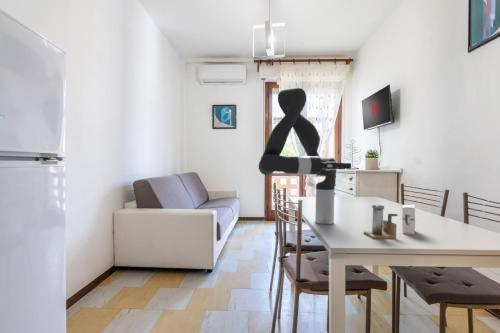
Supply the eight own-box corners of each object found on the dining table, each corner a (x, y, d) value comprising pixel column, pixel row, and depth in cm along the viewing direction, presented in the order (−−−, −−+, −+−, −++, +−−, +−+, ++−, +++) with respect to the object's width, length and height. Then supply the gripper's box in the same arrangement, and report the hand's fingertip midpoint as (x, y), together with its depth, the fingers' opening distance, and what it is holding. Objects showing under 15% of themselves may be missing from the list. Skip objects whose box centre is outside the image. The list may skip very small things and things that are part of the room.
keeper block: (363, 233, 125) (364, 212, 125) (390, 233, 126) (391, 212, 126) (372, 238, 117) (373, 215, 117) (401, 238, 118) (402, 215, 118)
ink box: (402, 229, 134) (403, 204, 133) (415, 230, 131) (415, 205, 131) (401, 233, 126) (402, 206, 126) (414, 235, 124) (415, 207, 123)
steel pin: (368, 232, 123) (369, 204, 123) (379, 232, 124) (380, 204, 123) (374, 235, 119) (375, 206, 118) (385, 235, 119) (386, 206, 119)
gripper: (313, 155, 109) (354, 156, 110) (303, 156, 123) (339, 156, 124) (312, 175, 109) (353, 175, 110) (303, 173, 123) (339, 173, 124)
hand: (346, 165), depth 117 cm, fingers open, 8 cm apart
